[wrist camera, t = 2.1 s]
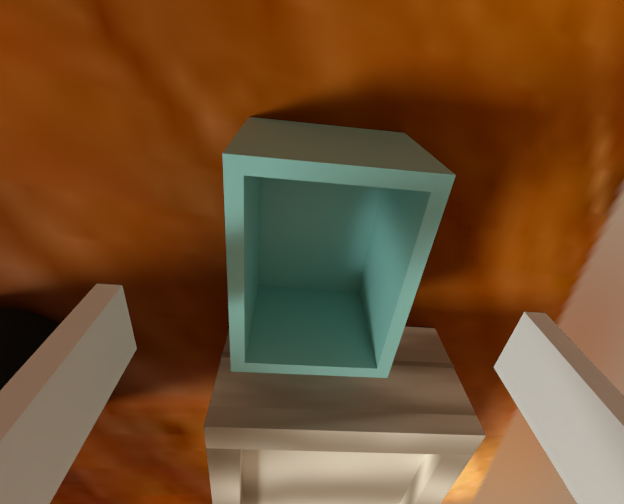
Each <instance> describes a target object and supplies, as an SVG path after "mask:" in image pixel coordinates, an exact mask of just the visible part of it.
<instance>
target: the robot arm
mask: <svg viewBox="0 0 624 504" xmlns="http://www.w3.org/2000/svg"><path fill="white" fill-rule="evenodd" d="M136 349H137V347H136V342H135V338H134V334H133V329H132V325H131V321H130V316H129V312H128V307H127V303H126V299H125V294H124V290H123V286H122V285H110V284H96V285H95V286H94V287H93V288H92V289H91V290H90V292H89V293H88V294H87V295H86V296H85V297H84V298H83V299H82V300H81V302H80V303H79V304H78V305H77V306H76V307H75V308H74V309H73V310H72V312H71V313H70V314H69V315H68V316H67V317H66V318H65V319H64V320H63V321H62V323H61V324H60V325H59V326H58V327H57V328H56V329H55V330H54V331H53V333H52V334H51V335H50V336H49V337H48V338H47V339H46V340H45V341H44V343H43V344H42V345H41V346H40V347H39V348H38V349H37V350H36V351H35V353H34V354H33V355H32V356H31V357H30V358H29V359H28V360H27V361H26V363H25V364H24V365H23V366H22V367H21V368H20V369H19V370H18V371H17V373H16V374H15V375H14V376H13V377H12V378H11V379H10V380H9V381H8V383H7V384H6V385H5V386H4V387H3V388H2V389H1V390H0V504H50V502H51V500H52V499H53V497H54V495H55V493H56V491H57V490H58V488H59V486H60V484H61V483H62V481H63V479H64V477H65V476H66V474H67V472H68V470H69V468H70V467H71V465H72V463H73V461H74V460H75V458H76V456H77V454H78V452H79V451H80V449H81V447H82V445H83V444H84V442H85V440H86V438H87V436H88V435H89V433H90V431H91V429H92V428H93V426H94V424H95V422H96V420H97V419H98V417H99V415H100V413H101V412H102V410H103V408H104V406H105V404H106V403H107V401H108V399H109V397H110V396H111V394H112V392H113V390H114V389H115V387H116V385H117V383H118V381H119V380H120V378H121V376H122V374H123V373H124V371H125V369H126V367H127V365H128V364H129V362H130V360H131V358H132V357H133V355H134V353H135V351H136ZM494 369H495V371H496V372H497V374H498V375H499V377H500V379H501V380H502V382H503V384H504V385H505V387H506V388H507V390H508V392H509V393H510V395H511V397H512V398H513V400H514V401H515V403H516V405H517V406H518V408H519V410H520V411H521V413H522V415H523V416H524V418H525V419H526V421H527V422H528V424H529V426H530V428H531V429H532V431H533V432H534V434H535V436H536V437H537V439H538V441H539V442H540V444H541V445H542V447H543V449H544V450H545V452H546V453H547V455H548V457H549V459H550V460H551V462H552V463H553V465H554V467H555V468H556V470H557V472H558V473H559V475H560V476H561V478H562V480H563V481H564V483H565V484H566V486H567V488H568V489H569V491H570V492H571V494H572V496H573V497H574V499H575V501H576V503H577V504H624V396H623V394H622V393H621V392H620V391H619V390H618V389H617V388H616V387H615V386H614V385H613V384H612V383H611V382H610V381H609V380H608V379H607V378H606V376H605V375H604V374H603V373H602V372H601V371H600V370H599V369H598V368H597V367H596V366H595V365H594V364H593V363H592V362H591V361H590V360H589V359H588V357H587V356H586V355H585V354H584V353H583V352H582V351H581V350H580V349H579V348H578V347H577V346H576V345H575V344H574V343H573V342H572V341H571V339H570V338H569V337H568V336H567V335H566V334H565V333H564V332H563V331H562V330H561V329H560V328H559V327H558V326H557V325H556V324H555V323H554V321H553V320H552V319H551V318H550V317H549V316H548V315H547V314H546V313H537V312H524V313H523V315H522V317H521V318H520V320H519V322H518V324H517V326H516V328H515V329H514V331H513V333H512V335H511V337H510V338H509V340H508V342H507V344H506V346H505V347H504V349H503V351H502V353H501V355H500V356H499V358H498V360H497V362H496V364H495V365H494Z"/></svg>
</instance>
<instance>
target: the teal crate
mask: <svg viewBox="0 0 624 504" xmlns="http://www.w3.org/2000/svg"><path fill="white" fill-rule="evenodd" d="M222 154H223V180H224V206H225V232H226V258H227V284H228V310H229V336H230V363H231V372H255V373H278V374H302V375H326V376H350V377H373V378H388V375H389V372H390V369H391V366H392V363H393V360H394V357H395V354H396V351H397V348H398V345H399V342H400V339H401V336H402V333H403V330H404V327H405V325H406V322H407V319H408V316H409V313H410V310H411V307H412V304H413V301H414V298H415V295H416V292H417V289H418V286H419V283H420V280H421V277H422V274H423V271H424V268H425V265H426V262H427V259H428V256H429V254H430V251H431V248H432V245H433V242H434V239H435V236H436V233H437V230H438V227H439V224H440V221H441V218H442V215H443V212H444V209H445V206H446V203H447V200H448V197H449V194H450V191H451V188H452V185H453V183H454V180H455V177H456V175H455V174H454V173H453V172H452V171H450V170H449V169H448V168H447V167H446V166H444V165H443V164H442V163H441V162H439V161H438V160H437V159H436V158H435V157H433V156H432V155H431V154H430V153H429V152H427V151H426V150H425V149H424V148H423V147H421V146H420V145H419V144H418V143H416V142H415V141H414V140H413V139H412V138H410V137H409V136H408V135H407V134H406V133H402V132H392V131H382V130H372V129H363V128H353V127H343V126H333V125H324V124H314V123H304V122H294V121H285V120H275V119H265V118H255V117H249V118H248V119H247V120H246V122H245V123H244V125H243V126H242V127H241V129H240V130H239V131H238V133H237V134H236V136H235V137H234V138H233V140H232V141H231V142H230V144H229V145H228V147H227V148H226V149H225V151H224V152H223V153H222Z"/></svg>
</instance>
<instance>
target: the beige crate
mask: <svg viewBox="0 0 624 504" xmlns="http://www.w3.org/2000/svg"><path fill="white" fill-rule="evenodd" d="M204 433H205V442H206V451H207V459H208V468H209V477H210V485H211V494H212V502H213V504H440V503H441V502H442V500H443V499H444V497H445V496H446V494H447V493H448V491H449V490H450V488H451V487H452V485H453V484H454V483H455V481H456V480H457V478H458V477H459V475H460V474H461V472H462V471H463V469H464V468H465V466H466V465H467V463H468V462H469V460H470V459H471V457H472V456H473V454H474V453H475V451H476V450H477V448H478V447H479V445H480V444H481V442H482V441H483V439H484V438H485V436H486V435H485V433H484V430H483V428H482V426H481V424H480V422H479V420H478V418H477V416H476V414H475V411H474V409H473V407H472V405H471V403H470V401H469V399H468V397H467V395H466V393H465V390H464V388H463V386H462V384H461V382H460V380H459V378H458V376H457V374H456V371H455V366H454V364H453V363H451V361H450V359H449V357H448V355H447V353H446V350H445V348H444V346H443V344H442V342H441V340H440V338H439V336H438V334H437V331H436V329H435V328H423V327H404V330H403V333H402V336H401V339H400V342H399V345H398V348H397V351H396V354H395V357H394V360H393V363H392V366H391V369H390V372H389V375H388V378H373V377H350V376H326V375H302V374H278V373H255V372H231V363H230V336H229V330H228V334H227V338H226V342H225V346H224V349H223V352H222V353H221V361H220V365H219V369H218V373H217V377H216V381H215V385H214V389H213V392H212V396H211V400H210V404H209V408H208V412H207V416H206V420H205V424H204Z"/></svg>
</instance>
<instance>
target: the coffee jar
mask: <svg viewBox="0 0 624 504" xmlns="http://www.w3.org/2000/svg"><path fill="white" fill-rule="evenodd" d="M59 325H60V324H58V323H56V322H54V321H51V320H49V319H47V318H45V317H42V316H40V315H36V314H32V313H28V312H24V311H20V310H16V309H9V308H0V390H1V389H2V388H3V387H4V386H5V385H6V384H7V383H8V381H9V380H10V379H11V378H12V377H13V376H14V375H15V374H16V373H17V371H18V370H19V369H20V368H21V367H22V366H23V365H24V364H25V363H26V361H27V360H28V359H29V358H30V357H31V356H32V355H33V354H34V353H35V351H36V350H37V349H38V348H39V347H40V346H41V345H42V344H43V343H44V341H45V340H46V339H47V338H48V337H49V336H50V335H51V334H52V333H53V331H54V330H55V329H56V328H57V327H58V326H59Z"/></svg>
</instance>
